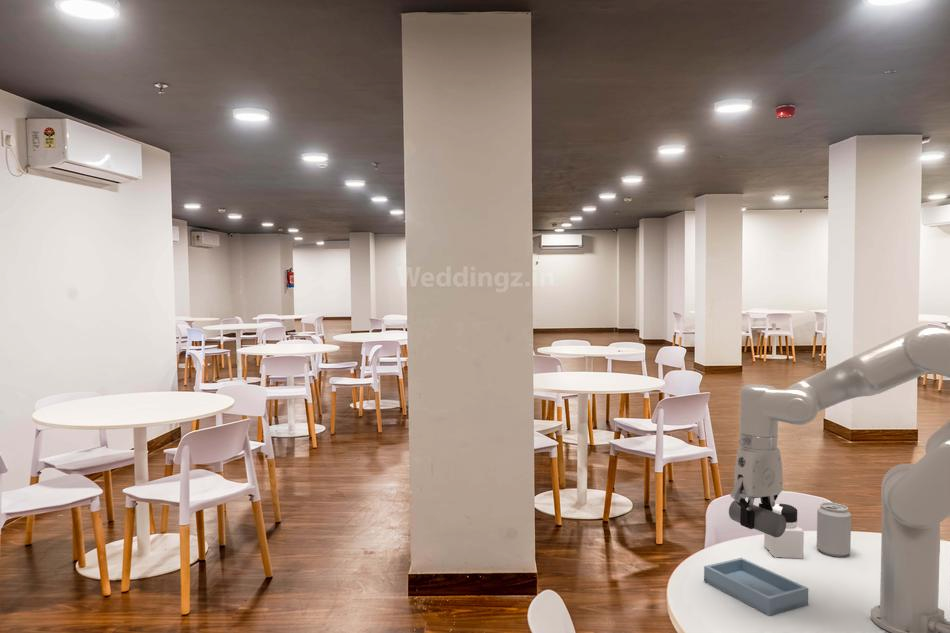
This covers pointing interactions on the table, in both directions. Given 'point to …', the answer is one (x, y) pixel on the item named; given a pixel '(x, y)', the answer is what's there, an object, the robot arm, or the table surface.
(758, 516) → the cylinder
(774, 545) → the medicine bottle
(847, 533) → the can
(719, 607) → the table surface
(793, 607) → the trough
